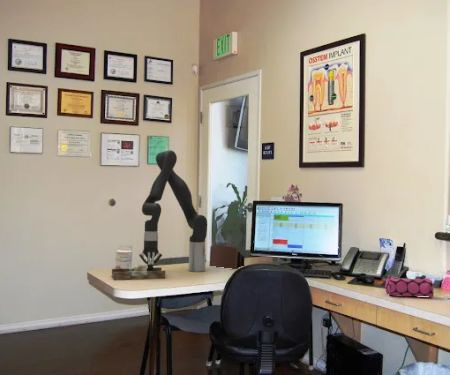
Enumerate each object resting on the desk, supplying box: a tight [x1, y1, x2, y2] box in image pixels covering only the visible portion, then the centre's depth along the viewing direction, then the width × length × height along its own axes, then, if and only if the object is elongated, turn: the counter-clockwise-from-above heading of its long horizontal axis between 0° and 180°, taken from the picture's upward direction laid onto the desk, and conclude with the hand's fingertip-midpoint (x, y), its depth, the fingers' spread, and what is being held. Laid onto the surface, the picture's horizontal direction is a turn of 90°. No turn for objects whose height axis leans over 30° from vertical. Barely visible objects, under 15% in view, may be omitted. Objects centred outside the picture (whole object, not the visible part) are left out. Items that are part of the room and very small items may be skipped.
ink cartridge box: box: [114, 244, 133, 269], centre depth 283 cm, size 9×5×15 cm, turn 84°
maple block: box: [133, 264, 148, 271], centre depth 266 cm, size 6×6×4 cm
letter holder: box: [209, 244, 245, 270], centre depth 307 cm, size 10×20×14 cm, turn 59°
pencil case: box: [384, 274, 435, 298], centre depth 234 cm, size 21×10×10 cm, turn 86°
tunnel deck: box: [111, 267, 166, 281], centre depth 265 cm, size 27×12×4 cm, turn 109°
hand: (150, 271), depth 267 cm, fingers closed
